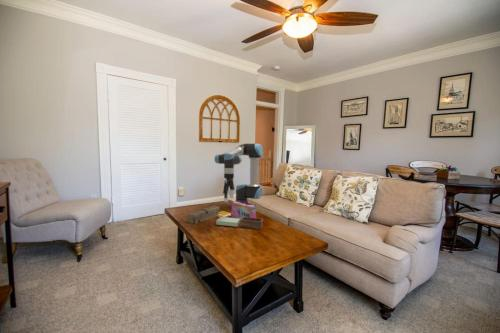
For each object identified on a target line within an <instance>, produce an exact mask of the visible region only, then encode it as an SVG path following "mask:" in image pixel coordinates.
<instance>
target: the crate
mask: <svg viewBox="0 0 500 333" xmlns="http://www.w3.org/2000/svg"><path fill="white" fill-rule="evenodd" d="M263 222H264V220H263V218H260V217H256V218H249V217H243V218H242V219H241V220H240V228H244V229H254V230H255V229H256V230H262V229H263V226H264V225H263V224H264V223H263Z"/></svg>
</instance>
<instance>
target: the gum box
mask: <svg viewBox="0 0 500 333" xmlns="http://www.w3.org/2000/svg"><path fill="white" fill-rule="evenodd" d="M235 201H236V200H235ZM235 201H231V211H230V212H231V213H230V214H231V217H230V218H238V219H240V221H241V219H242V218H243V217H249V218H257V204H254V203H249V202H248V203H245V202H242V201H236V202H235Z"/></svg>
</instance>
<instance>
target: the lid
mask: <svg viewBox="0 0 500 333" xmlns="http://www.w3.org/2000/svg"><path fill="white" fill-rule="evenodd" d="M215 224H216V225H218V226H228V227H238V226H239V225H240V224H241V220H240V219H238V218H234V217H227V216H225V217H224V216H220V217H219V218H218V219H216V220H215Z"/></svg>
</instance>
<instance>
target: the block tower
mask: <svg viewBox="0 0 500 333" xmlns="http://www.w3.org/2000/svg"><path fill="white" fill-rule="evenodd" d="M220 208H221V207H220V206H217V205H211V206H210V207H204V208H203V209H202V210H201V209H199V210H195V211H194V210H193V211H191V212H188V213H187V222H188V223H189V222H190V224H195V225H196V224H199V223H202V222H204V221H207V220H211V219H214V218H216V217H218V216H219V211H220ZM217 215H218V216H217Z"/></svg>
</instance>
